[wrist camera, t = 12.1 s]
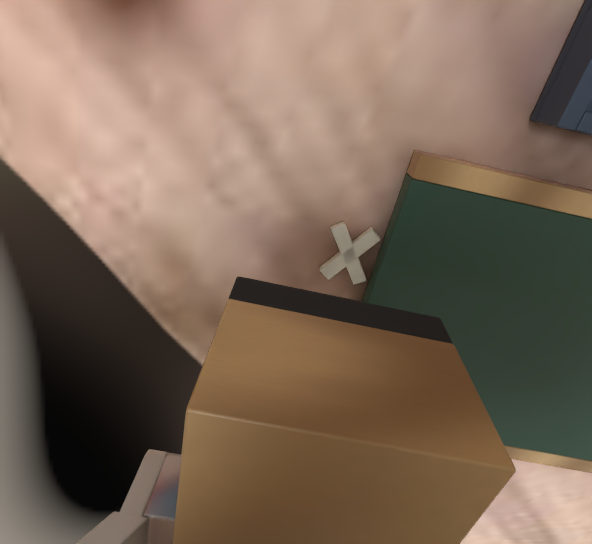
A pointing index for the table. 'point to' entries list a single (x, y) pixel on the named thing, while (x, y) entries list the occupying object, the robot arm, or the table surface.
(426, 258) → the chalkboard
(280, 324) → the eraser
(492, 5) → the table surface
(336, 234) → the chalk
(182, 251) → the table surface
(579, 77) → the eraser tray
